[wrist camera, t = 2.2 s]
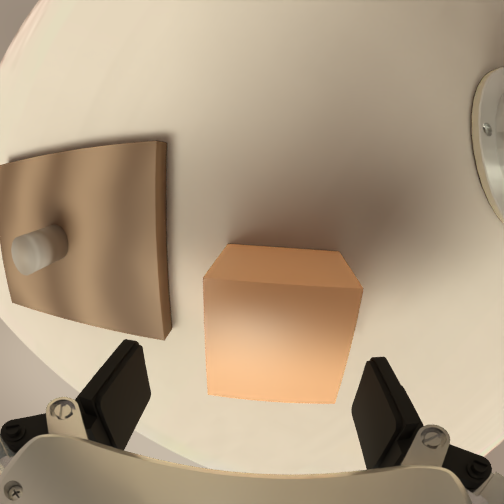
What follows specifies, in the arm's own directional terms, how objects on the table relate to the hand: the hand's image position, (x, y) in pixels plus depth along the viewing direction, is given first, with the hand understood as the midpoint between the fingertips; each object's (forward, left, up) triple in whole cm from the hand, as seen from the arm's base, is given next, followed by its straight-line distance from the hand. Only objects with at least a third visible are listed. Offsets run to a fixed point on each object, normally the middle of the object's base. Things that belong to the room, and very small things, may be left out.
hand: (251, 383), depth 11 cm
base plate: (+14, -4, -7) cm, 16 cm away
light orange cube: (-1, -1, -7) cm, 7 cm away
